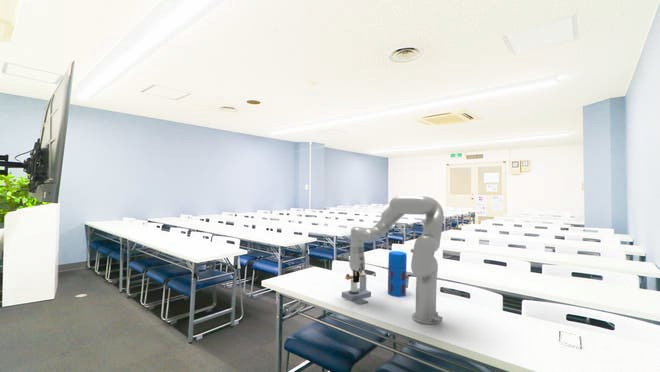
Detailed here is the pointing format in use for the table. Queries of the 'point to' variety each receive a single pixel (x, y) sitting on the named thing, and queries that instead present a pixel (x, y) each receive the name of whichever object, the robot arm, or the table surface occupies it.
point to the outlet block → (361, 291)
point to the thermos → (397, 273)
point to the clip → (352, 276)
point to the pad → (360, 301)
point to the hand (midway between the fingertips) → (356, 282)
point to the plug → (353, 287)
